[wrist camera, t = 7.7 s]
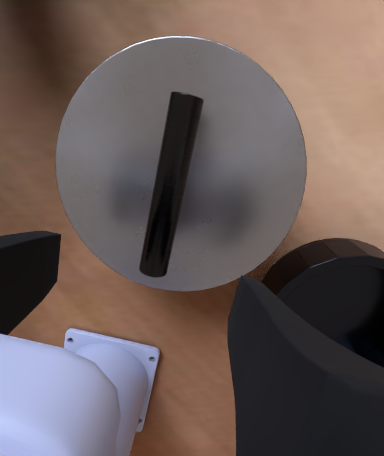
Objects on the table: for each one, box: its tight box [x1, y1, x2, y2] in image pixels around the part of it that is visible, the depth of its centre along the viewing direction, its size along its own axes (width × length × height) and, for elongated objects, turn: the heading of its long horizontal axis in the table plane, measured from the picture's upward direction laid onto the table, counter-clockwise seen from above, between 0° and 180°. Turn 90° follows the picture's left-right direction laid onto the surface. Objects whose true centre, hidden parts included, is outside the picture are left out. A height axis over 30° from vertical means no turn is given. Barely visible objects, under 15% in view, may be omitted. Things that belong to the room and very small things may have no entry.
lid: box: [55, 36, 307, 292], centre depth 13 cm, size 12×12×5 cm
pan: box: [262, 238, 384, 368], centre depth 21 cm, size 11×11×3 cm
